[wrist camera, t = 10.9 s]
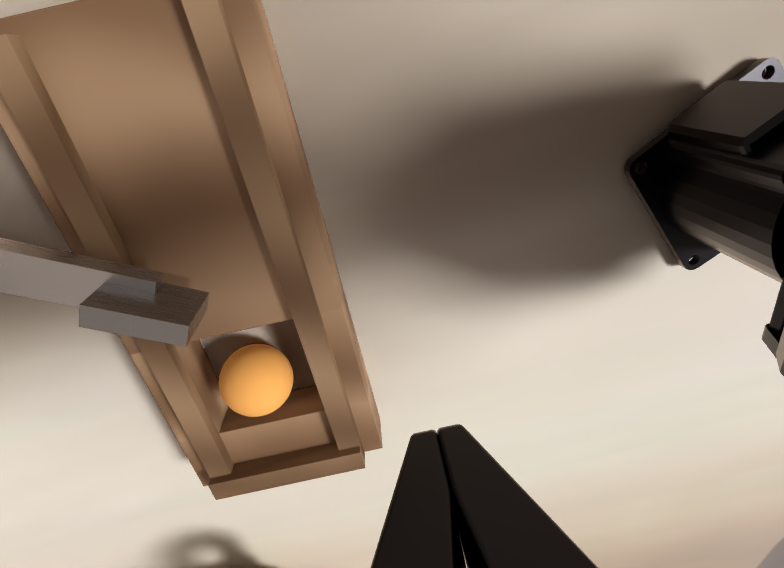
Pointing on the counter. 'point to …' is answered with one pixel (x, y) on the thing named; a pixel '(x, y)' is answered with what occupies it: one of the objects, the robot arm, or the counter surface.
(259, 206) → the lane
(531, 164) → the counter surface
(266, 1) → the counter surface
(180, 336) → the lever
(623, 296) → the counter surface
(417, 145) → the counter surface
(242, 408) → the ball
